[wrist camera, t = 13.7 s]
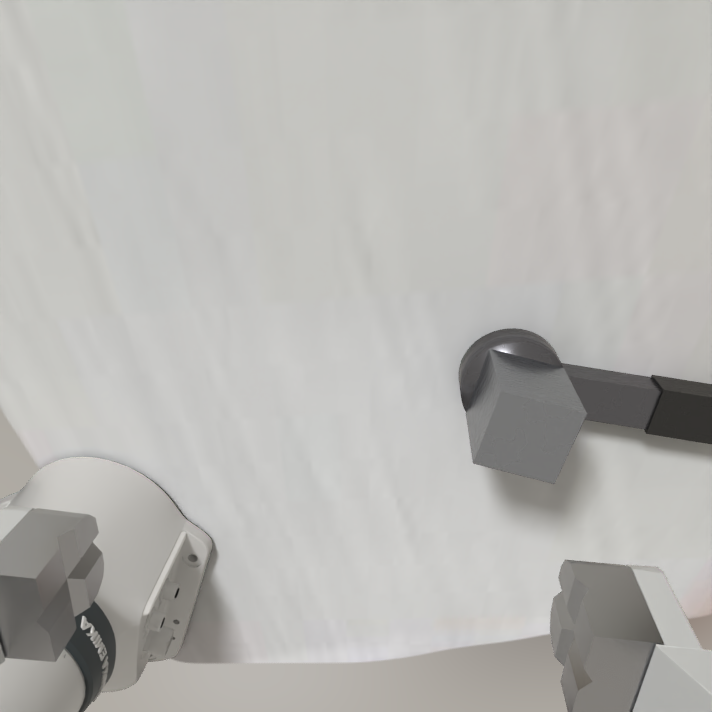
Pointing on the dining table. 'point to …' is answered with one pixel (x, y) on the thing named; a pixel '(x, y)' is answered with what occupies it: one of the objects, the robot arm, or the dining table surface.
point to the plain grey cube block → (523, 416)
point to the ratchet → (606, 389)
